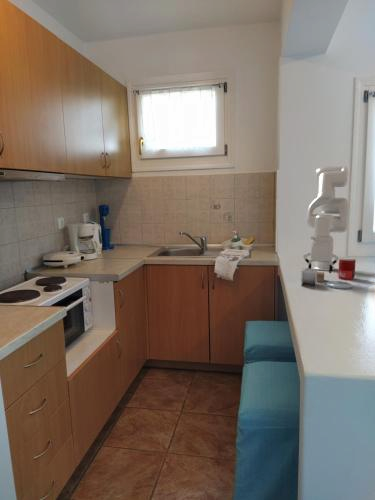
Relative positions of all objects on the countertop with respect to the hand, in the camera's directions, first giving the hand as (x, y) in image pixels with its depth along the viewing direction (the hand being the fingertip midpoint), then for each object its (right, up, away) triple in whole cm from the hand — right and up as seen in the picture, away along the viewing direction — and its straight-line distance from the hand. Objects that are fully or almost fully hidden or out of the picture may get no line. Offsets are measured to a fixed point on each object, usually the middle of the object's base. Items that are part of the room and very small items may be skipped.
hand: (320, 272), depth 190 cm
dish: (+5, -6, -11) cm, 14 cm away
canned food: (+16, -4, +5) cm, 17 cm away
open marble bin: (-8, -6, -8) cm, 13 cm away
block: (0, -4, +1) cm, 5 cm away
